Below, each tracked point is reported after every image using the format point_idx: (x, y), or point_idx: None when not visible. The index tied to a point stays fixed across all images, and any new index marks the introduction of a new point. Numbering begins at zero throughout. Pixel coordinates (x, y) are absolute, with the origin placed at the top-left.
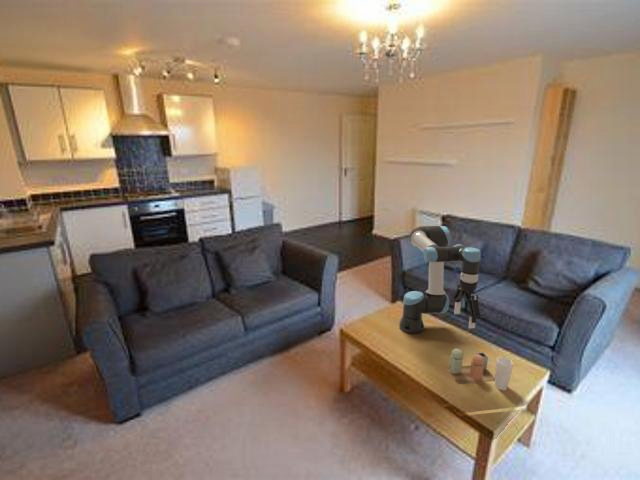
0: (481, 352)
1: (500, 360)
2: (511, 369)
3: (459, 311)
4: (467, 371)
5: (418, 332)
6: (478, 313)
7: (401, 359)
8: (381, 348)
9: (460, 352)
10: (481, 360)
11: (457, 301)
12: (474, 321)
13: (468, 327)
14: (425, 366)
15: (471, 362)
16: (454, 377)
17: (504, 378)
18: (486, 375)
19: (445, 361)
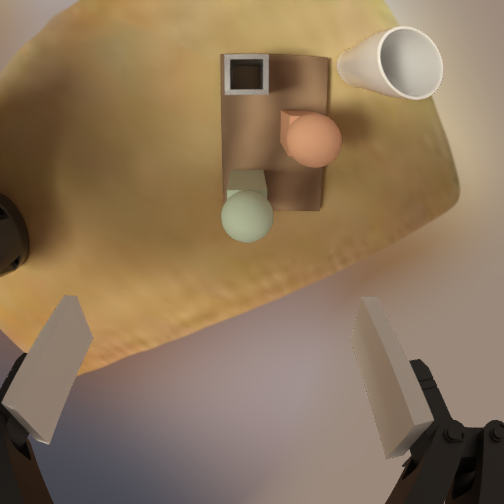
0: (224, 65)
1: (371, 54)
2: (429, 56)
3: (66, 321)
4: (257, 138)
5: (21, 222)
6: (500, 467)
7: (163, 317)
8: (116, 344)
9: (265, 217)
10: (340, 140)
11: (21, 432)
12: (420, 381)
13: (351, 342)
14: (200, 265)
15: (289, 155)
16: (283, 205)
17: (404, 80)
18: (293, 78)
19: (175, 186)
